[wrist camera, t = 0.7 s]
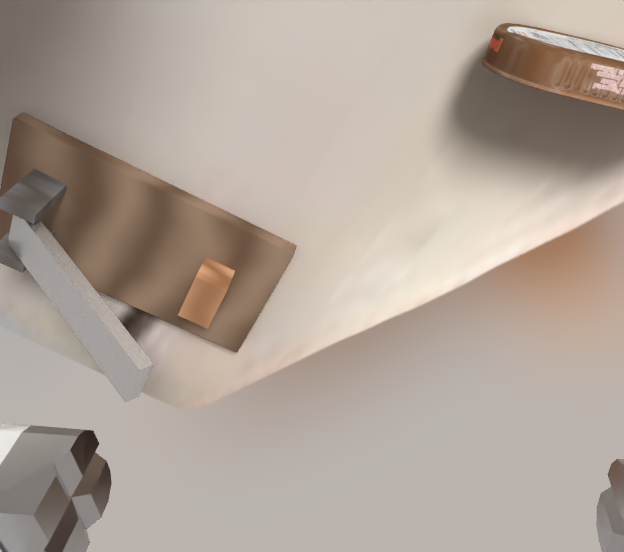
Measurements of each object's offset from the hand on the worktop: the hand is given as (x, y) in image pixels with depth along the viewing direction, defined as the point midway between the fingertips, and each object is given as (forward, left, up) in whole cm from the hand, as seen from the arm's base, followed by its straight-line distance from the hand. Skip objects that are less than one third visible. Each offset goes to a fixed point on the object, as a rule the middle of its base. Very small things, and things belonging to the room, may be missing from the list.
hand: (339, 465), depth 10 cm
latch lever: (-2, -31, -30) cm, 43 cm away
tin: (+13, +7, -40) cm, 43 cm away
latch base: (0, -31, -40) cm, 50 cm away
